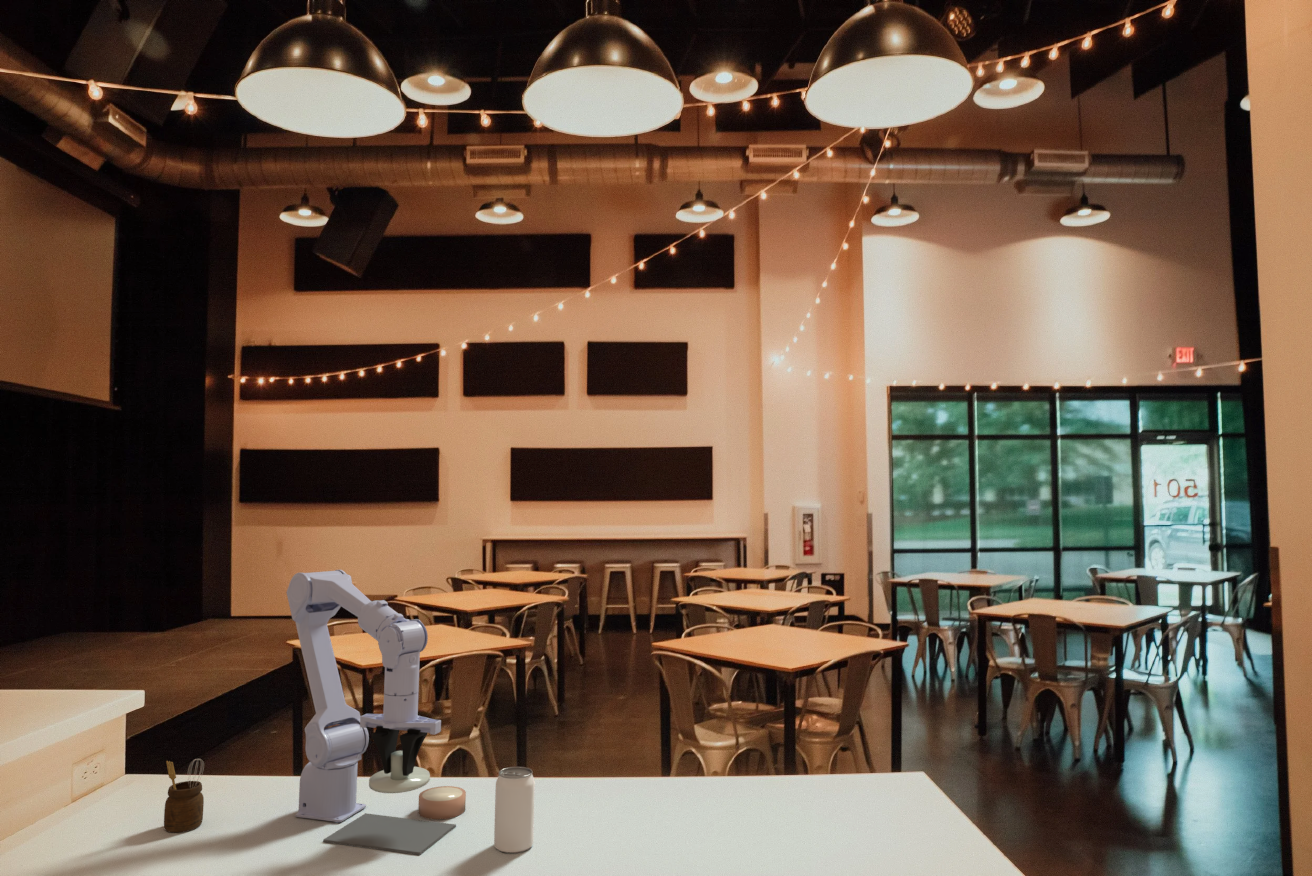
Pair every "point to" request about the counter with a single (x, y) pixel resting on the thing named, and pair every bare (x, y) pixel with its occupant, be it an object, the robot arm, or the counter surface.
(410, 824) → the mat
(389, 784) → the lid
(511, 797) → the can
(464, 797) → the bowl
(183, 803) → the utensil holder
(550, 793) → the counter surface
